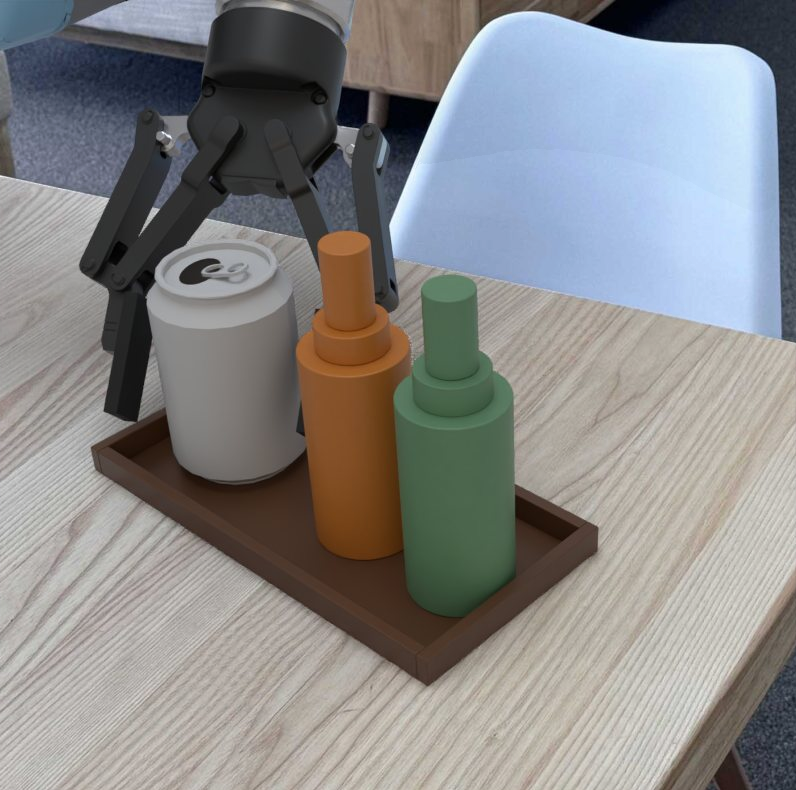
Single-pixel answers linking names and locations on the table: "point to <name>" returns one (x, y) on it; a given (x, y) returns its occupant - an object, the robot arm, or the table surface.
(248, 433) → the can
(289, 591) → the tray
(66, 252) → the table surface
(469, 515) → the green bottle
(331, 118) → the robot arm
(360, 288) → the amber bottle
